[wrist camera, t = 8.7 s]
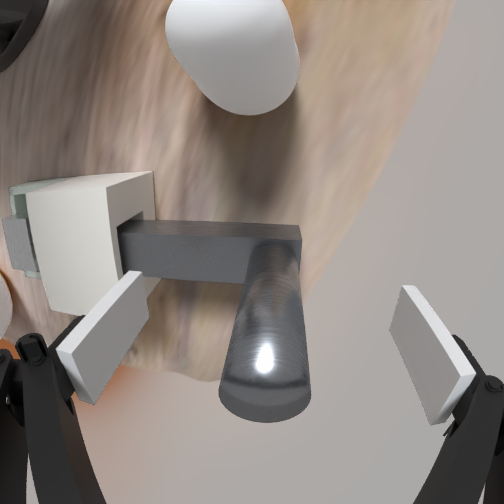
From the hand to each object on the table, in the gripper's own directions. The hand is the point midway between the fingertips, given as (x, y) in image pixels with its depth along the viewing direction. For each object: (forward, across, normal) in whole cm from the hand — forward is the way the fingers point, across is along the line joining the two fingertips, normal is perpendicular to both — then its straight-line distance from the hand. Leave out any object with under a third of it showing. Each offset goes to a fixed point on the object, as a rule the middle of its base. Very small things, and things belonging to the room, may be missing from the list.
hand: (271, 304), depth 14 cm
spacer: (+8, -21, 0) cm, 22 cm away
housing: (+11, -14, 0) cm, 18 cm away
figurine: (+11, -2, +13) cm, 17 cm away
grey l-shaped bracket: (+8, -9, 0) cm, 12 cm away
